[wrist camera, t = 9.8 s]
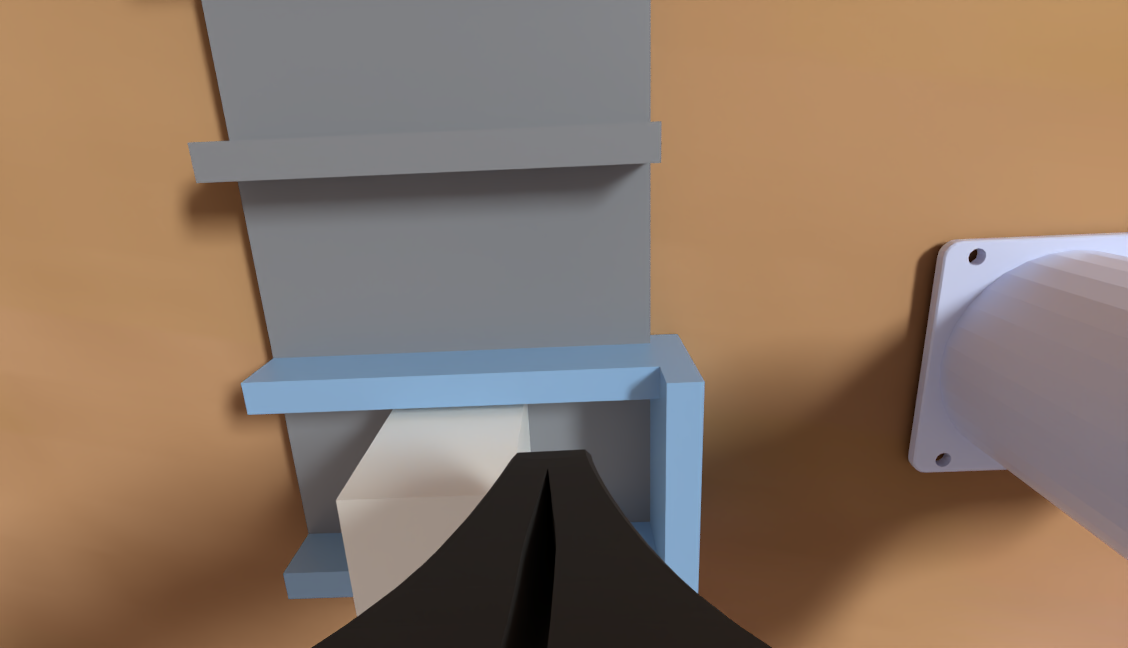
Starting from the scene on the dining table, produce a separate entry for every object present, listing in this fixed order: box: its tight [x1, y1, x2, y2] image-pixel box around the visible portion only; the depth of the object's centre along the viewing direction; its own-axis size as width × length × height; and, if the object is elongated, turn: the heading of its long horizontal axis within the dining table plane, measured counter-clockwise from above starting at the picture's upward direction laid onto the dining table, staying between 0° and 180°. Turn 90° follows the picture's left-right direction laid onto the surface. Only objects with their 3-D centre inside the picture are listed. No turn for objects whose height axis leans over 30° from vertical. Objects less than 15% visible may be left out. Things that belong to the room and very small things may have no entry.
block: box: [336, 404, 531, 617], centre depth 17 cm, size 4×4×6 cm
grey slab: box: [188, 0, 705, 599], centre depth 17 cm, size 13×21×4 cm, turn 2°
